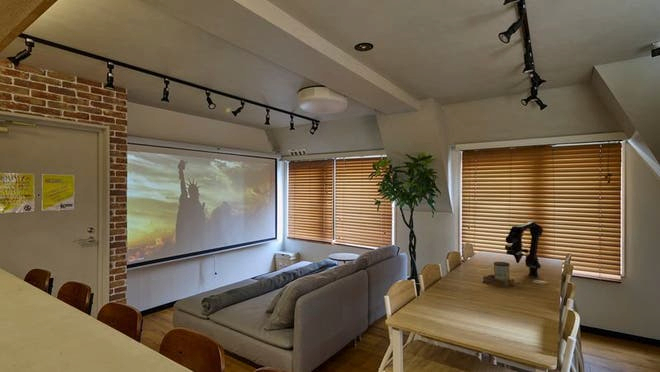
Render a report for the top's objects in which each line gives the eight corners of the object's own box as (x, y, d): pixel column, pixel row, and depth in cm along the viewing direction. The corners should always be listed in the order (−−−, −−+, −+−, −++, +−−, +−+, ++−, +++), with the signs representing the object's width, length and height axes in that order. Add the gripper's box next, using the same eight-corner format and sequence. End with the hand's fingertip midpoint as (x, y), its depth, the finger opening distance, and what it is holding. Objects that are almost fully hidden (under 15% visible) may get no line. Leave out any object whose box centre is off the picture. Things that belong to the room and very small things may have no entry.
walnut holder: (493, 279, 244) (493, 274, 244) (513, 284, 230) (513, 279, 230) (483, 281, 239) (483, 276, 239) (504, 287, 225) (503, 281, 225)
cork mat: (531, 280, 241) (531, 279, 241) (547, 282, 235) (547, 281, 236) (531, 283, 232) (531, 282, 232) (548, 285, 227) (548, 284, 227)
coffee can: (492, 280, 242) (491, 261, 243) (506, 280, 241) (506, 261, 241) (497, 284, 232) (497, 264, 232) (512, 284, 231) (512, 264, 231)
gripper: (514, 240, 257) (515, 259, 257) (499, 242, 249) (500, 262, 248) (528, 242, 247) (529, 262, 247) (513, 244, 239) (514, 265, 239)
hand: (517, 262), depth 246 cm, fingers closed
